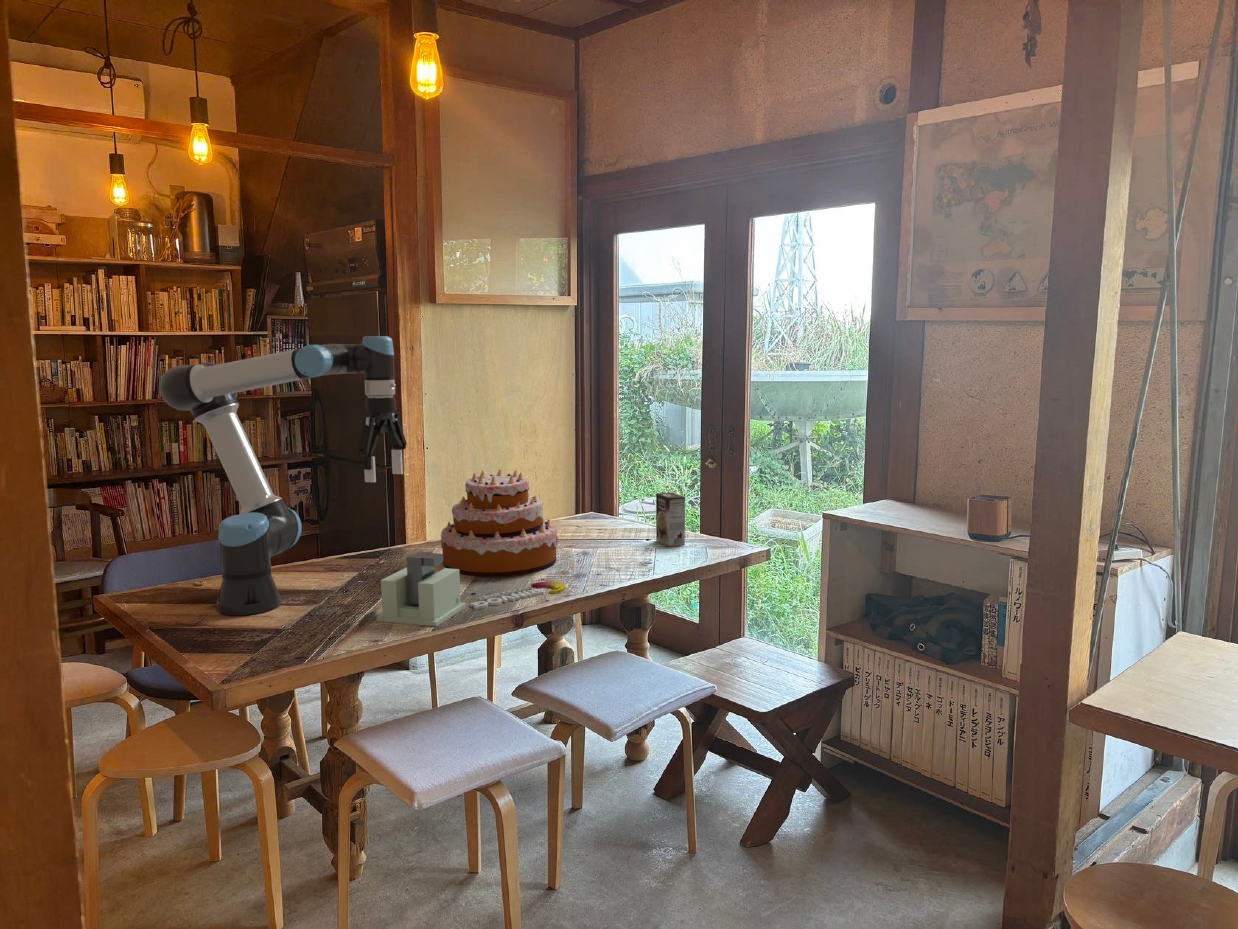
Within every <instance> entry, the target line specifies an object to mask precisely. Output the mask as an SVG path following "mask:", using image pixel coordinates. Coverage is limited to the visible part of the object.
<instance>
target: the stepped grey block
mask: <svg viewBox="0 0 1238 929" xmlns="http://www.w3.org/2000/svg"><path fill="white" fill-rule="evenodd" d="M440 564H443V553H441V552H440V553H438V552H431V551H417V552H414V553H413V554H410V555H408V556H407V557H406V567H407V579H408V602H409V606H411V607H419V595H418V583H419V582H421V581H423V580H424V579H426V578H428V577H430V576H432V575H434V574H435V570H434V567H436V566H438V565H440Z"/></svg>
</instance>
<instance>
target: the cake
mask: <svg viewBox="0 0 1238 929" xmlns="http://www.w3.org/2000/svg"><path fill="white" fill-rule="evenodd" d="M529 482H530V481H529V479H528V477H525V476H523V473H522V472H520V473H518V472H517V469H515V470H514V472H513V474H510V473H508V474H503V472H502V471H501V468H499V469H498V471H497V474H488V475H487V474H486V473H485V472H484V471H483V469H482V470H481V473H480V476H477V475H476V473H473V474H472V477H470V478H468V479H467V480H466V481H465V487H464V488H465V493H466V496H467V497H466V498H467V499H466V498H465V496H462V498H461V499H460V501H459V502H457V503H455V504H454V505H453V506H452V509H451V515H452V520H453V522H452V524H451V522H450V521H448V522H447V525H446V527H444V528H442V531H441V533H440V542H441V544H440V546H441V547H440V548H441V550H442V554H443V562H442V566H443V567H444V568H448V569H459V575H461V576H462V575H463V576H470V577H478V578H479V577H481V578H482V577H484V578H499V577H504V576H505V577H513V575H516V576H523V575H528V573H529V574H534V573H537V572H541V571H543V570H546V569H549V568H551V567H553V565H555V563H556V562H557V546H558V542H559V541H558V540H559V539H558V534H557V533H558V532H557V531H558V530H557V527H556V525H555V524H554V523H552V522H551V520H550V519H549V518H548V519H547V520H546V519H545V518H544V516H543V512H544V510H543V508H544V506H543V505H544V504H543V503H544V502H543V501H542V499H540V498H538V497H537V495H536V494H535V495H534V496H533V495H530V493H529V491H530V483H529ZM533 572H534V573H533Z"/></svg>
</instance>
